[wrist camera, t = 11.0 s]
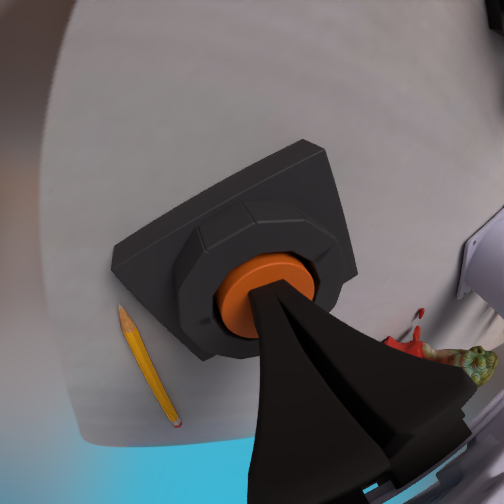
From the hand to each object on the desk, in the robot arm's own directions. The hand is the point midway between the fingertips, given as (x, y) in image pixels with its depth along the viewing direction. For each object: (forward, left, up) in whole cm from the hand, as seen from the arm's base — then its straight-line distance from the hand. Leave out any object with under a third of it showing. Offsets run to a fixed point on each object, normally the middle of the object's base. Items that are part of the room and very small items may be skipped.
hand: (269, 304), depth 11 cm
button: (0, 0, -2) cm, 2 cm away
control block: (0, 0, -4) cm, 4 cm away
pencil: (+9, +5, -4) cm, 11 cm away
